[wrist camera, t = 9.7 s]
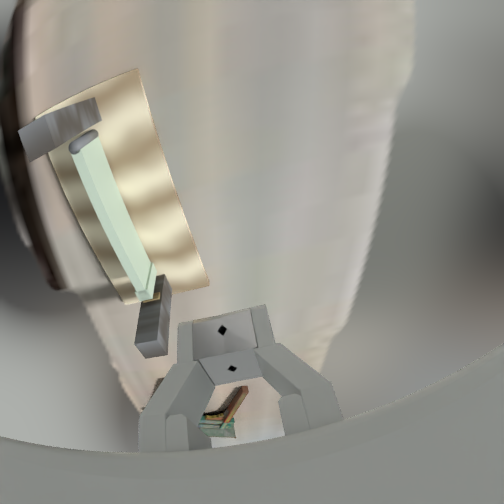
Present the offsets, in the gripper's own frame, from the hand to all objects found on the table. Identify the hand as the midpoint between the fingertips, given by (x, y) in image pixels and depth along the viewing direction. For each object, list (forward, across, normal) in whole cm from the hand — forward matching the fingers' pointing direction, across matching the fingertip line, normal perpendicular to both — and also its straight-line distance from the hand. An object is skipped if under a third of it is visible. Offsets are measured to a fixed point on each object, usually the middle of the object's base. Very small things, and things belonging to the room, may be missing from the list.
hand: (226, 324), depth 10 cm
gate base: (+27, +13, +6) cm, 31 cm away
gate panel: (+26, +13, +6) cm, 30 cm away
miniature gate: (+26, +22, +63) cm, 71 cm away
